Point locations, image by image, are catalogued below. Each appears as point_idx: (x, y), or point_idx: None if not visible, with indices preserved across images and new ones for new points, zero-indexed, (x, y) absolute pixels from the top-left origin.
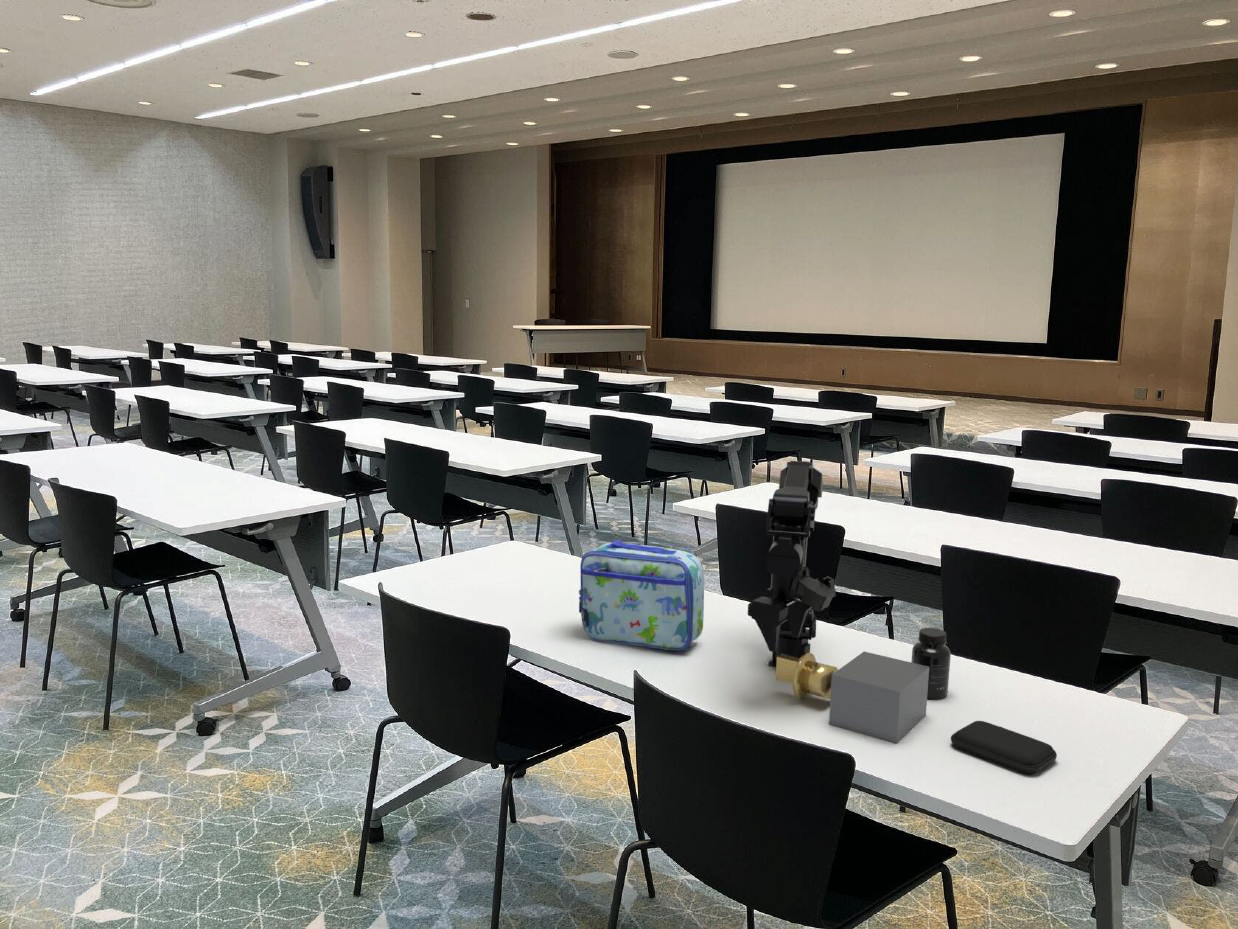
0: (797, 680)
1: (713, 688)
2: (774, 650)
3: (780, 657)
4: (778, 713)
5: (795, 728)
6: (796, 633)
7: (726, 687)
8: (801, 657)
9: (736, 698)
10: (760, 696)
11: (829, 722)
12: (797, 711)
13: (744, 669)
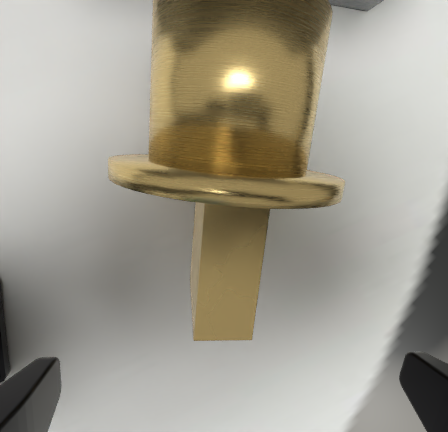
0: (324, 175)
1: (277, 396)
2: (435, 359)
3: (251, 322)
4: (353, 190)
5: (431, 105)
6: (40, 401)
7: (253, 377)
8: (301, 204)
9: (309, 326)
10: (263, 283)
11: (372, 6)
12: (314, 146)
13: (97, 405)
